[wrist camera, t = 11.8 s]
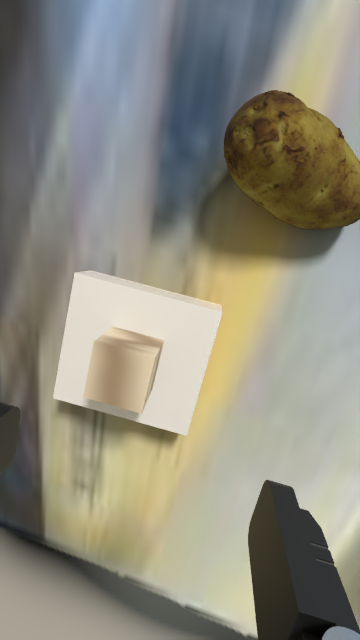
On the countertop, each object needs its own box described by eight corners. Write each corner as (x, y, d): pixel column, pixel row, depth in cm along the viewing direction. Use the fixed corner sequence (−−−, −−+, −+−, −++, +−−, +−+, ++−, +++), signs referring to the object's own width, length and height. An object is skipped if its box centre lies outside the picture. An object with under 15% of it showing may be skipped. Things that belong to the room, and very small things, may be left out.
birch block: (164, 340, 29) (155, 357, 24) (152, 387, 30) (141, 413, 25) (113, 326, 29) (93, 341, 24) (103, 374, 30) (83, 397, 25)
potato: (292, 266, 30) (321, 270, 23) (206, 162, 29) (206, 129, 21) (365, 205, 29) (424, 187, 21) (277, 93, 28) (305, 29, 20)
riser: (220, 304, 32) (222, 312, 28) (189, 415, 35) (186, 435, 31) (90, 270, 32) (74, 272, 28) (70, 382, 35) (52, 398, 31)
